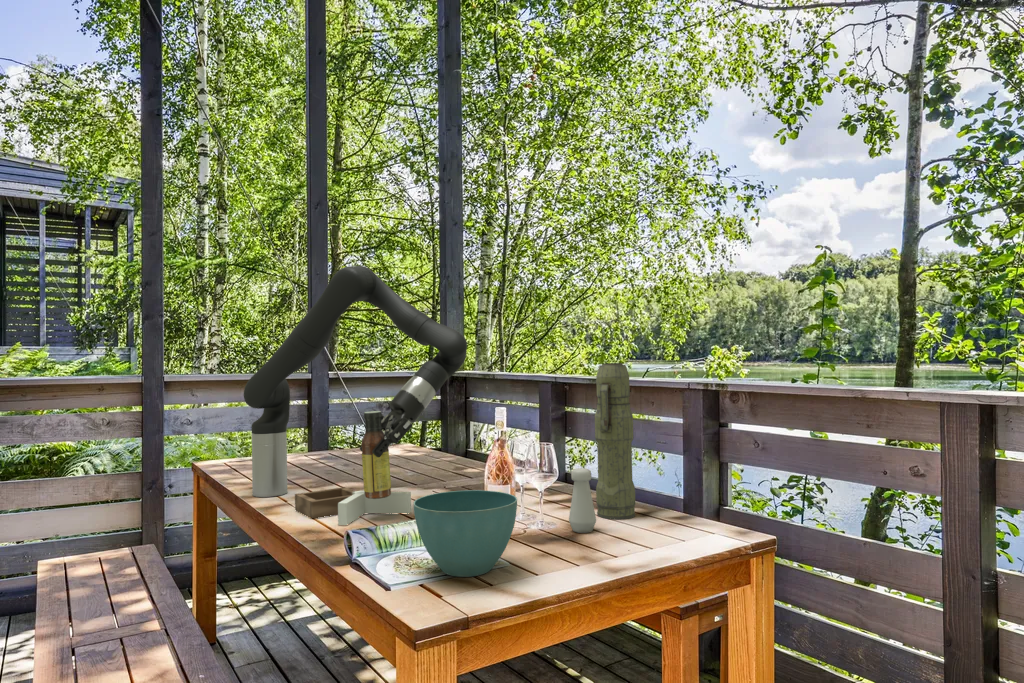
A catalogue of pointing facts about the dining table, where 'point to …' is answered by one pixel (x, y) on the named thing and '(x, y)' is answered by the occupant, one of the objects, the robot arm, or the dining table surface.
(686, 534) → the dining table surface
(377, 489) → the sauce bottle
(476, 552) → the plant pot
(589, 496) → the salt shaker
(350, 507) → the v block
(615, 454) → the thermos
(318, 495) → the collar
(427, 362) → the robot arm
